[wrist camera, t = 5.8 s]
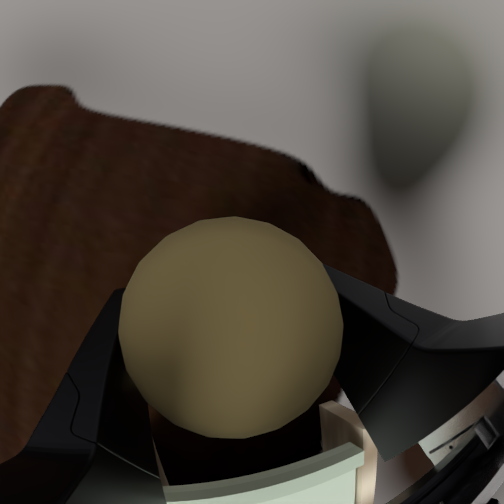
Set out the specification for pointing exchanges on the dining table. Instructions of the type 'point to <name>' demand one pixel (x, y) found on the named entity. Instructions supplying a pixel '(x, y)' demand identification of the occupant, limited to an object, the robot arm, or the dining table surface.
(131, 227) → the dining table surface
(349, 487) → the light piece
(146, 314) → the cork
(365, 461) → the trapdoor frame
